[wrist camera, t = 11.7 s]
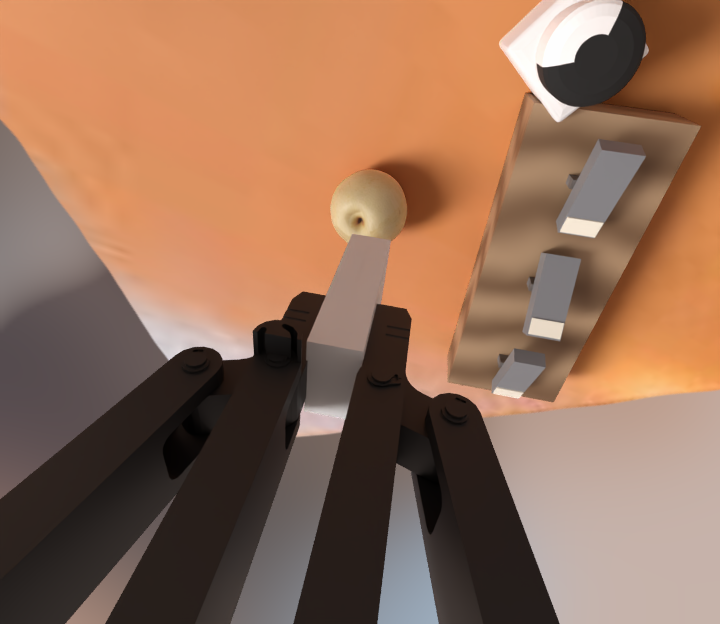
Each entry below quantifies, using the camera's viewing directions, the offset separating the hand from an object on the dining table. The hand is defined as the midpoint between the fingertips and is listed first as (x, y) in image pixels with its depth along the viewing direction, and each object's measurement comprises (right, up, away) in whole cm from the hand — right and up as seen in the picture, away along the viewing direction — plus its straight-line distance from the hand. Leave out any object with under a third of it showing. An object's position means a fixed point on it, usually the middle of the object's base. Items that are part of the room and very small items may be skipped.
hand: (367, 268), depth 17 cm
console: (+19, +4, +31) cm, 37 cm away
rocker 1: (+17, -9, +31) cm, 36 cm away
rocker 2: (+18, 0, +25) cm, 31 cm away
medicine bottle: (+17, +21, +20) cm, 34 cm away
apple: (+1, +11, +30) cm, 32 cm away
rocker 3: (+19, +8, +19) cm, 28 cm away
